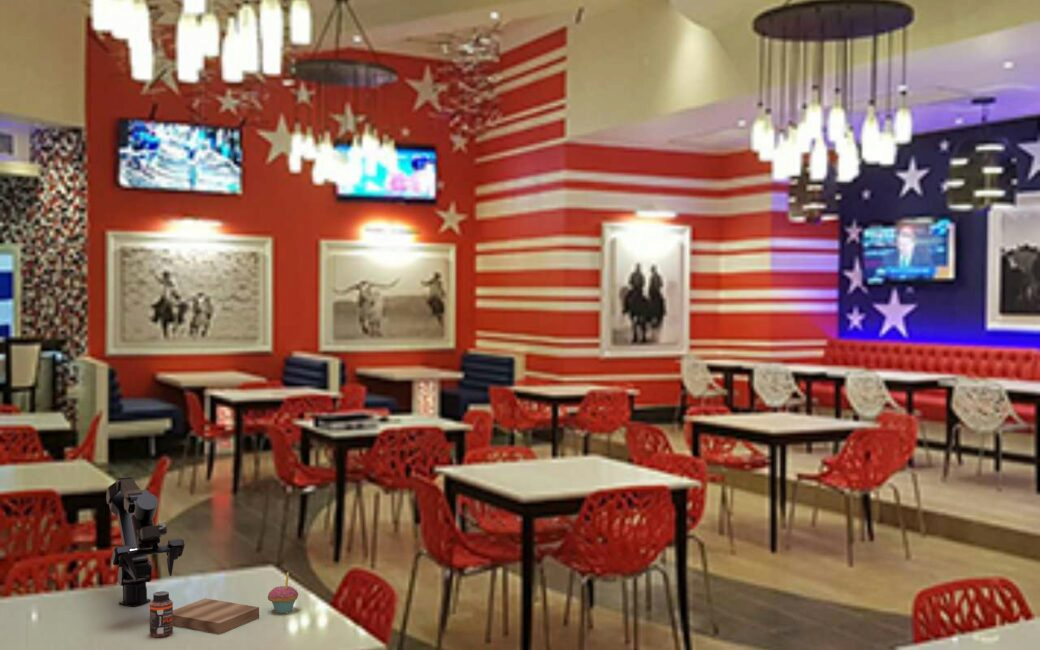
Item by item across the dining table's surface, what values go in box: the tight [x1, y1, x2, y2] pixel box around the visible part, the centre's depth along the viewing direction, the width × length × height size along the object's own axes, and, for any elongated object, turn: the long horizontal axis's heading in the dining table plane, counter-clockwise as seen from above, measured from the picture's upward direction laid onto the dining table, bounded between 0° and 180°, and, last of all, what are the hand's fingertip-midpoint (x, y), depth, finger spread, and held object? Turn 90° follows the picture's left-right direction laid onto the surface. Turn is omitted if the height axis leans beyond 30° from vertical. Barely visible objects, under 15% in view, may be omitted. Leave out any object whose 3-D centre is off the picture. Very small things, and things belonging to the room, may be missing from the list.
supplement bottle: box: [149, 590, 174, 638], centre depth 289 cm, size 6×6×11 cm
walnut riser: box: [173, 597, 260, 635], centre depth 300 cm, size 20×16×3 cm
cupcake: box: [267, 570, 299, 614], centre depth 309 cm, size 9×8×12 cm
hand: (153, 577), depth 295 cm, fingers open, 9 cm apart
